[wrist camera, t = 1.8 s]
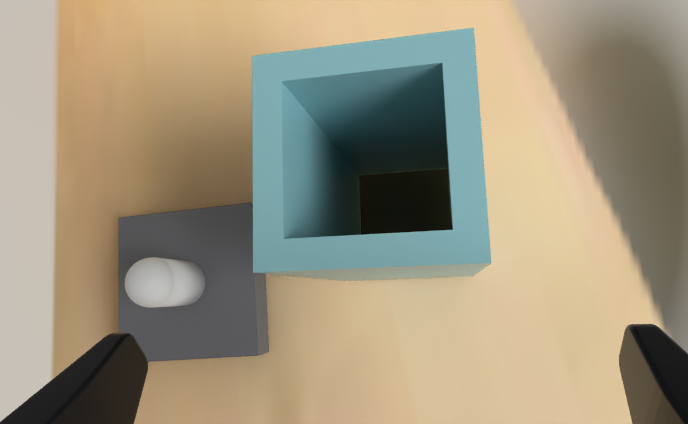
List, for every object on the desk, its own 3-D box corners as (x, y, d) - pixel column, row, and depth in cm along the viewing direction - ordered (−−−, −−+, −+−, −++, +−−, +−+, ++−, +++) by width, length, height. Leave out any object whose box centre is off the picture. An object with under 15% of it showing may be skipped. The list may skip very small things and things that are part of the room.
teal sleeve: (473, 276, 20) (491, 262, 10) (345, 280, 21) (252, 272, 11) (464, 150, 21) (473, 27, 11) (341, 160, 22) (252, 55, 12)
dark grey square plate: (268, 351, 21) (221, 368, 17) (136, 359, 22) (59, 376, 18) (261, 207, 22) (215, 186, 18) (135, 221, 23) (62, 205, 19)
